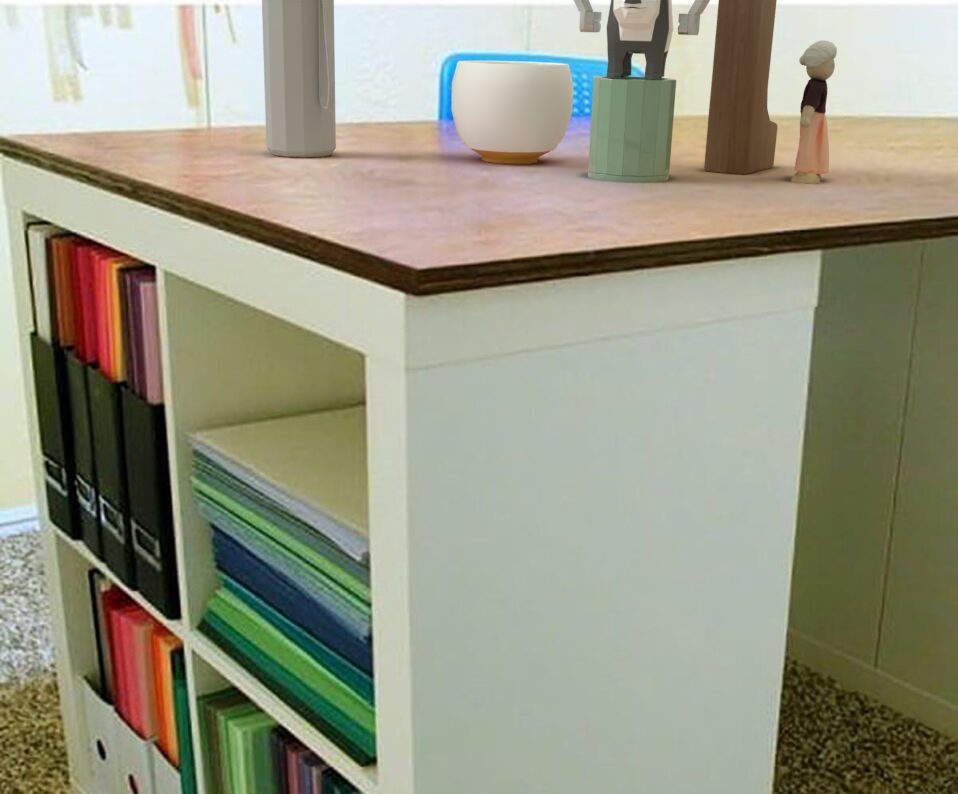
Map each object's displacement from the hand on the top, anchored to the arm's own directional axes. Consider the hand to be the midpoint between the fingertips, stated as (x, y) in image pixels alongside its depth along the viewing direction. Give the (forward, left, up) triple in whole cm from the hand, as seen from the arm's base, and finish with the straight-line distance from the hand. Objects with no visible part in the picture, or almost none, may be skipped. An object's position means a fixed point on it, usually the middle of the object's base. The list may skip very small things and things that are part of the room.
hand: (638, 33), depth 118 cm
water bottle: (+34, +3, -13) cm, 37 cm away
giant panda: (0, 0, -4) cm, 4 cm away
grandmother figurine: (-15, -9, -13) cm, 22 cm away
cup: (+15, -6, -13) cm, 21 cm away
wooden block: (-7, -14, -13) cm, 20 cm away
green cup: (0, 0, -13) cm, 13 cm away
